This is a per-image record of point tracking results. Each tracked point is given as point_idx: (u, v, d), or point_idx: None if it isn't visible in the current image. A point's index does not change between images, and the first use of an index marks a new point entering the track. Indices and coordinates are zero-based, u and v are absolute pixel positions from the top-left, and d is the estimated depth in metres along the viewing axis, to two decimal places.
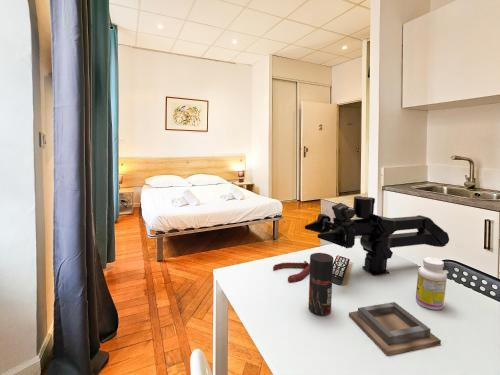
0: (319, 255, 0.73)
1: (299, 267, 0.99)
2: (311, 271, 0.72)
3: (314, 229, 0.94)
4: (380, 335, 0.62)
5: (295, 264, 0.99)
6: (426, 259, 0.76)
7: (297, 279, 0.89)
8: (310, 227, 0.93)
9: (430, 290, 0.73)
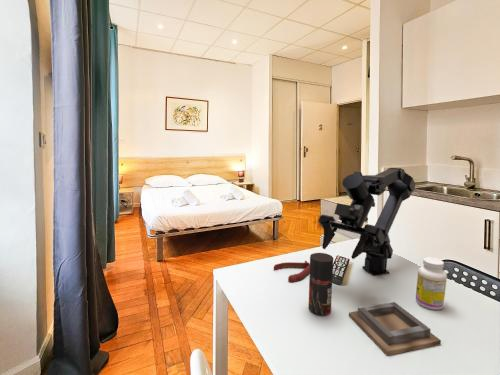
0: (319, 255, 0.73)
1: (300, 267, 0.99)
2: (311, 271, 0.72)
3: (329, 240, 0.83)
4: (380, 335, 0.62)
5: (296, 264, 0.99)
6: (426, 259, 0.76)
7: (298, 278, 0.89)
8: (326, 243, 0.82)
9: (430, 290, 0.73)
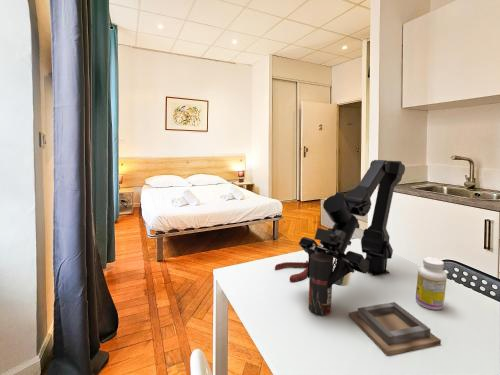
0: (319, 255, 0.73)
1: (301, 267, 0.99)
2: (311, 271, 0.72)
3: None
4: (380, 335, 0.62)
5: (297, 264, 0.99)
6: (426, 259, 0.76)
7: (299, 278, 0.90)
8: None
9: (430, 290, 0.73)
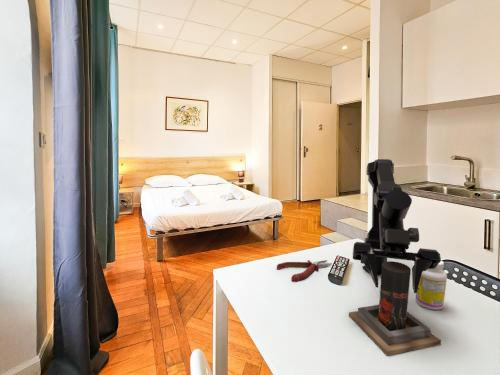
0: (391, 265, 0.65)
1: (302, 266, 0.99)
2: (391, 285, 0.62)
3: None
4: (380, 335, 0.62)
5: (298, 263, 0.99)
6: None
7: (301, 278, 0.90)
8: None
9: (430, 290, 0.73)
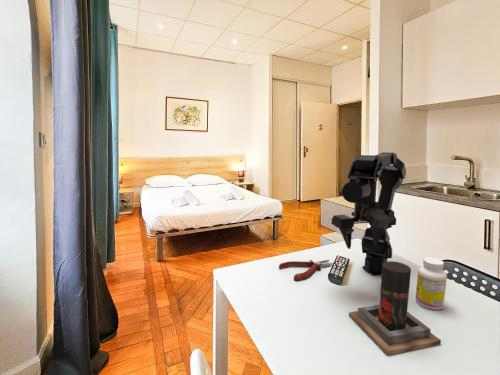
0: (392, 265, 0.65)
1: (305, 266, 1.00)
2: (391, 285, 0.62)
3: None
4: (380, 335, 0.62)
5: (301, 263, 0.99)
6: (426, 259, 0.76)
7: (303, 277, 0.90)
8: None
9: (430, 290, 0.73)
